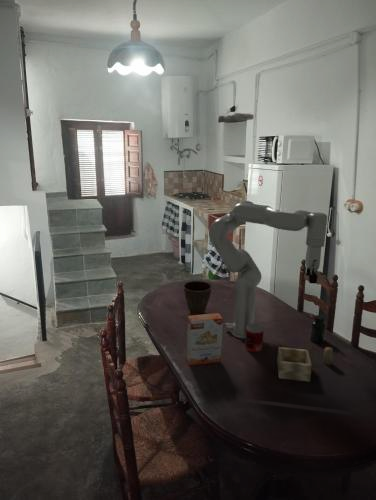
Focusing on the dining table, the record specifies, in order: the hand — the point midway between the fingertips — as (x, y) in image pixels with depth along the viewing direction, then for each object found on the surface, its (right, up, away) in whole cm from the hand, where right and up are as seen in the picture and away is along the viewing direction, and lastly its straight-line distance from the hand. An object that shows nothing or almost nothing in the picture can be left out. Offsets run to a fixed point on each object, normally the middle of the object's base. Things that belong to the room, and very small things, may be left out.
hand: (311, 279), depth 170 cm
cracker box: (-47, -35, -4) cm, 59 cm away
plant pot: (-49, -22, +42) cm, 69 cm away
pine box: (-11, -38, -12) cm, 41 cm away
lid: (+5, -37, -5) cm, 37 cm away
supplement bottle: (+8, -31, +16) cm, 35 cm away
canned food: (-24, -33, +6) cm, 41 cm away
